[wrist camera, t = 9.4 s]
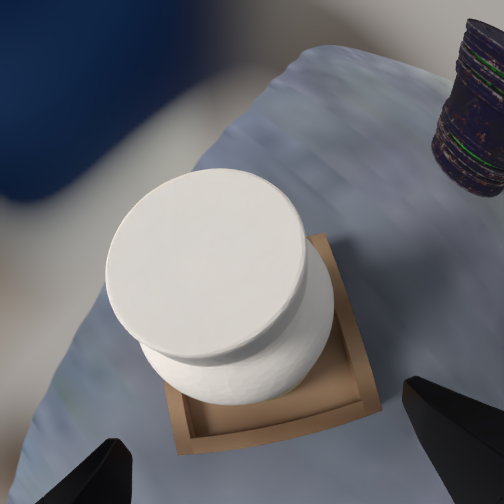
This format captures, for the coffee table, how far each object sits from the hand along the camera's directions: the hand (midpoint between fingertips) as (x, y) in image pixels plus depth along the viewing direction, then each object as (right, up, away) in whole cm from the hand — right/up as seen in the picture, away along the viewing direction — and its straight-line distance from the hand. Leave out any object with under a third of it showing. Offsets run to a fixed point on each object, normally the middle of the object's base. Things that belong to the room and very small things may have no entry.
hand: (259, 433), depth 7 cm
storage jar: (+23, +15, +17) cm, 32 cm away
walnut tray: (0, -1, +11) cm, 11 cm away
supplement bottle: (0, -1, +10) cm, 10 cm away
